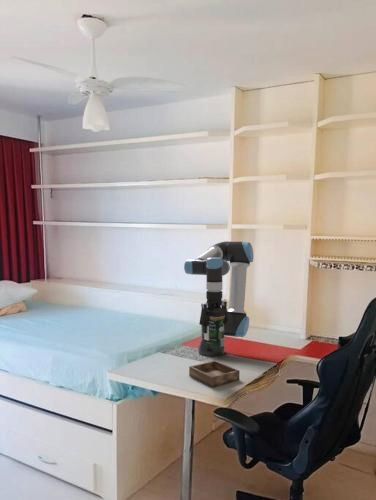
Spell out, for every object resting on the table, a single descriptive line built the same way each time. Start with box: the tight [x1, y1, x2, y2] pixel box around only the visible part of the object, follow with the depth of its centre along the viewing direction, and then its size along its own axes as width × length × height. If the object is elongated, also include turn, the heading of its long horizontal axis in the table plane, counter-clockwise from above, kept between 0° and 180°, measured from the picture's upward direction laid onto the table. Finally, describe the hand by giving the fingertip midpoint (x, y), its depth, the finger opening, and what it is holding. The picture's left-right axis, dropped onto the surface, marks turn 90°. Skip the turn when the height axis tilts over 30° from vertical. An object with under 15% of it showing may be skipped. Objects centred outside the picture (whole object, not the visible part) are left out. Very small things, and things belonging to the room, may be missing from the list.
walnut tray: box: [188, 360, 240, 389], centre depth 192 cm, size 16×18×4 cm
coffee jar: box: [204, 306, 225, 348], centre depth 191 cm, size 10×8×19 cm
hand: (214, 338), depth 191 cm, fingers closed on coffee jar, 8 cm apart
